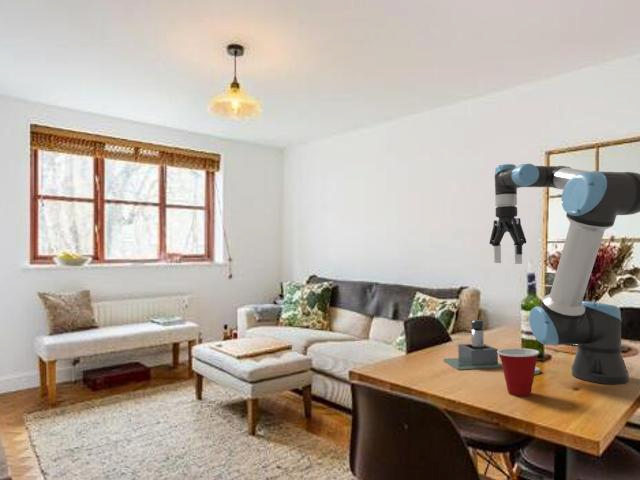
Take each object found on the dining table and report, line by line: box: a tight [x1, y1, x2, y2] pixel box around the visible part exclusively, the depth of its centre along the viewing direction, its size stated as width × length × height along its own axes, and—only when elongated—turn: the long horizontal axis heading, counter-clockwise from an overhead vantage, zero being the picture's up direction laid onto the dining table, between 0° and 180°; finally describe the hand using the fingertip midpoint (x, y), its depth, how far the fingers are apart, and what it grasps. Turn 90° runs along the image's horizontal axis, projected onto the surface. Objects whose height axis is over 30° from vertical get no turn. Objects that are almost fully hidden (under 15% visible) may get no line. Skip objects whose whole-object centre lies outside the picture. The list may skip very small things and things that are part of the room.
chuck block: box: [443, 343, 503, 371], centre depth 157 cm, size 11×16×6 cm
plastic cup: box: [497, 347, 540, 398], centre depth 126 cm, size 11×11×12 cm
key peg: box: [470, 319, 485, 349], centre depth 158 cm, size 4×4×14 cm
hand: (507, 263), depth 169 cm, fingers open, 13 cm apart
